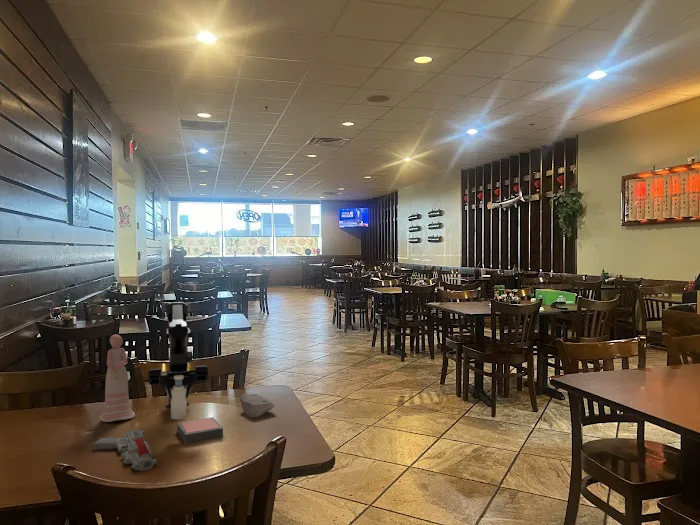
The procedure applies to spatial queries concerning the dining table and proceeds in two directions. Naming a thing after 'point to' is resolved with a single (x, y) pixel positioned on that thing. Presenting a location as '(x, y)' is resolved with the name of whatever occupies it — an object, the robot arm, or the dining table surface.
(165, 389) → the robot arm
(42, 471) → the dining table surface
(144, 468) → the toy gun
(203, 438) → the stand
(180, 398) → the white bottle
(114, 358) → the figurine
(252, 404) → the stone
